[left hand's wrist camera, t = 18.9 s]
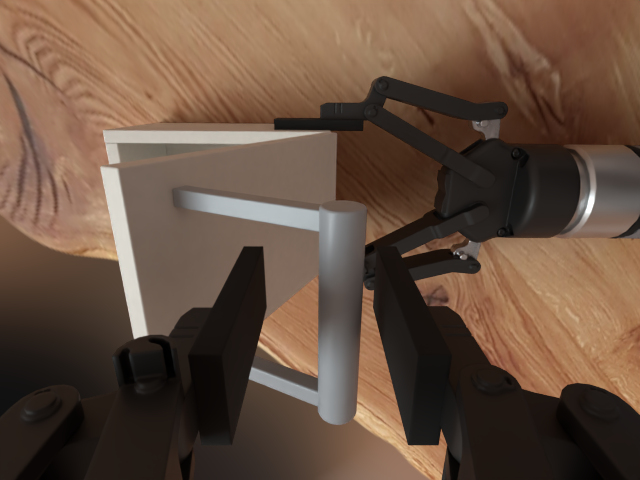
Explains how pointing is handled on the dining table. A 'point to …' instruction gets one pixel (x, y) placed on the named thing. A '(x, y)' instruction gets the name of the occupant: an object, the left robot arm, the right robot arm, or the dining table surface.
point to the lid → (246, 230)
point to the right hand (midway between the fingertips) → (278, 190)
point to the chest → (187, 138)
